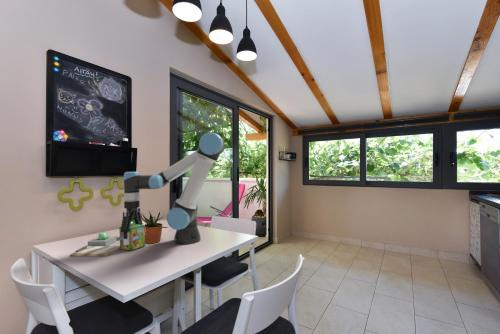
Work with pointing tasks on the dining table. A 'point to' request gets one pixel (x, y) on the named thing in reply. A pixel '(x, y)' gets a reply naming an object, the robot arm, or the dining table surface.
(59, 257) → the dining table surface
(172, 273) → the dining table surface
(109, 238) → the button base
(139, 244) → the chalk box
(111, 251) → the clipboard
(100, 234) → the button
